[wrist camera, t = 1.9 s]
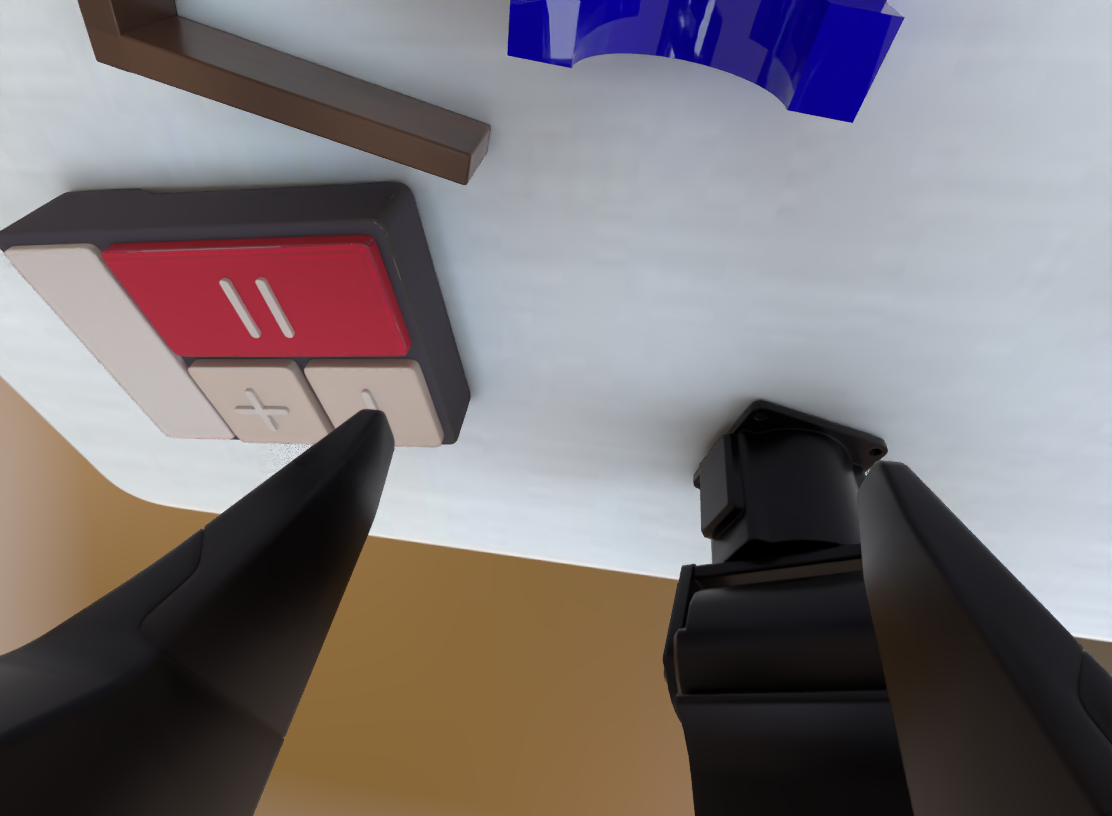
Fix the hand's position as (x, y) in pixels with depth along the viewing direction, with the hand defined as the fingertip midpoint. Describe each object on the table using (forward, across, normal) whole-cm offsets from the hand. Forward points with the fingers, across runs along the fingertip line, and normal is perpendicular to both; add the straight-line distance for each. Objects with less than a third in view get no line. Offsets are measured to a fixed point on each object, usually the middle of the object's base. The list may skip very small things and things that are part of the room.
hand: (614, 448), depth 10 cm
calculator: (+12, +15, +6) cm, 20 cm away
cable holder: (+12, -1, -6) cm, 13 cm away
